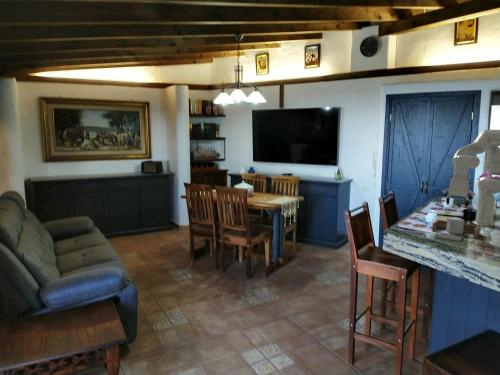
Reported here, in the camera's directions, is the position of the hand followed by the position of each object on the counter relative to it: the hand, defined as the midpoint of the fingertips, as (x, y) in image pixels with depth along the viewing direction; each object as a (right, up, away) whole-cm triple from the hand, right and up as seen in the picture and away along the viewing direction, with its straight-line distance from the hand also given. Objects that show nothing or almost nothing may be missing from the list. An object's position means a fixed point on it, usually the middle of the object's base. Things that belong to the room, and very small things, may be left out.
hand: (456, 205), depth 225 cm
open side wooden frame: (+1, -17, +4) cm, 17 cm away
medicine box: (0, -17, +3) cm, 17 cm away
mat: (-7, -18, -5) cm, 20 cm away
